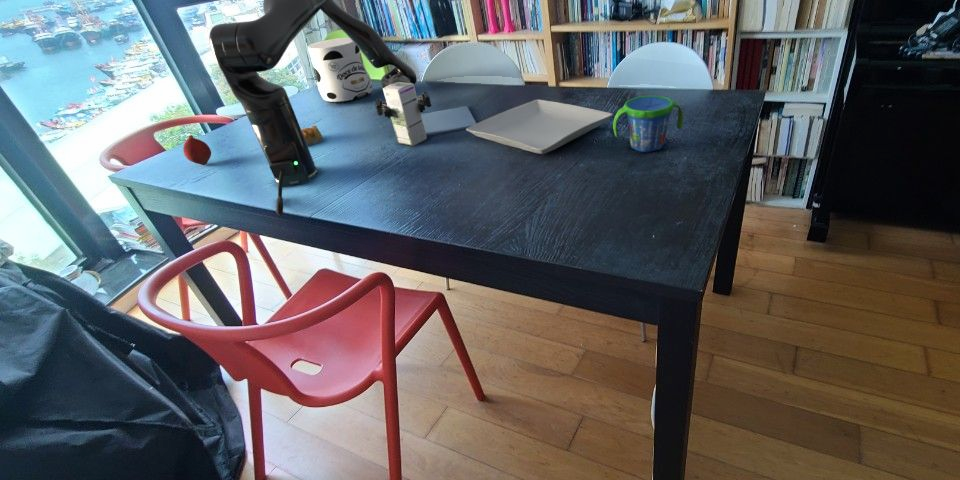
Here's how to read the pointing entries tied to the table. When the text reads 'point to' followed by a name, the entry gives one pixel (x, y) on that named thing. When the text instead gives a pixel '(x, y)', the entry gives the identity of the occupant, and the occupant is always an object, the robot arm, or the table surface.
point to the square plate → (539, 125)
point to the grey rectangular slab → (447, 120)
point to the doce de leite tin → (340, 71)
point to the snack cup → (648, 121)
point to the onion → (196, 151)
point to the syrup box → (405, 113)
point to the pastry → (312, 135)
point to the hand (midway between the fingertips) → (404, 111)
